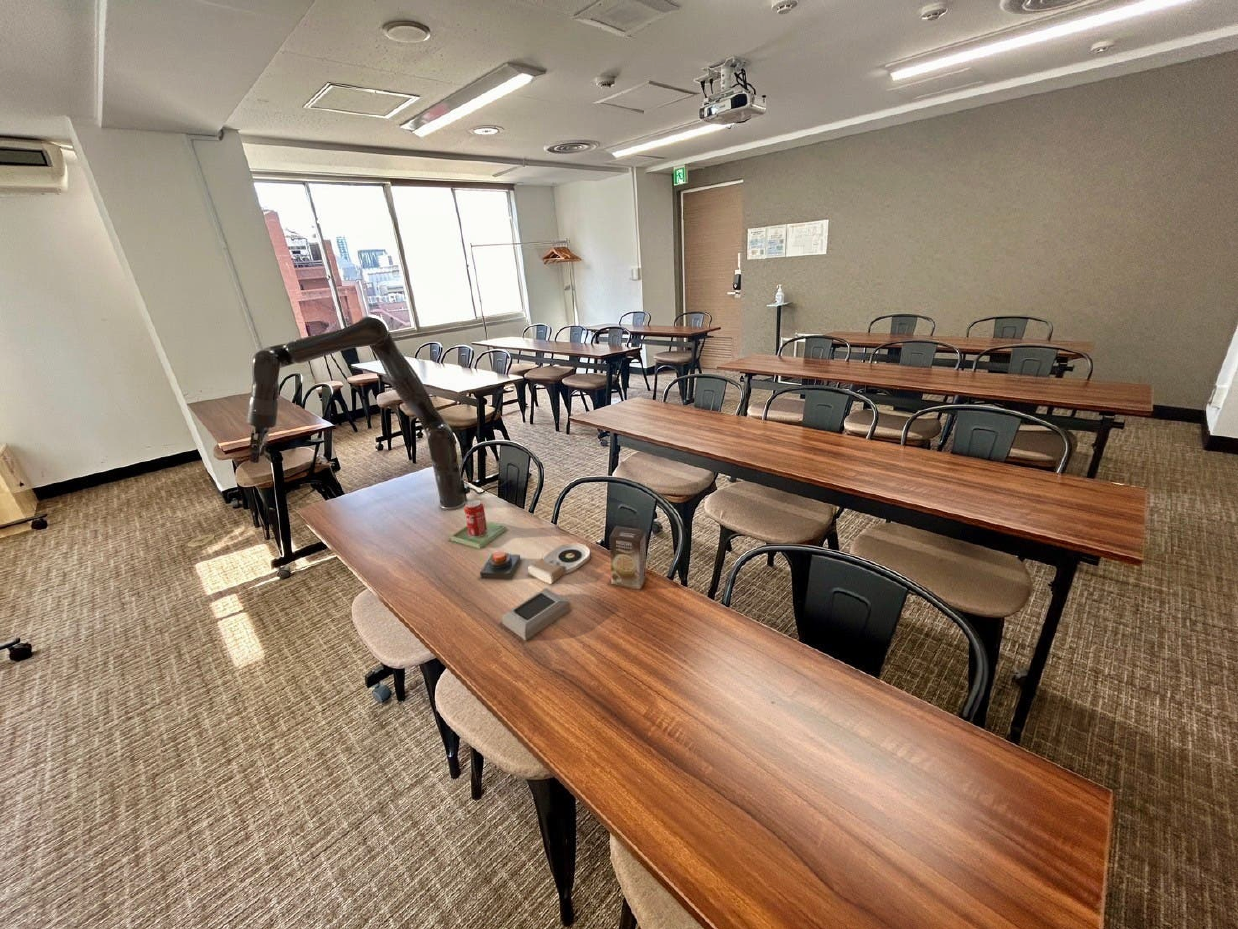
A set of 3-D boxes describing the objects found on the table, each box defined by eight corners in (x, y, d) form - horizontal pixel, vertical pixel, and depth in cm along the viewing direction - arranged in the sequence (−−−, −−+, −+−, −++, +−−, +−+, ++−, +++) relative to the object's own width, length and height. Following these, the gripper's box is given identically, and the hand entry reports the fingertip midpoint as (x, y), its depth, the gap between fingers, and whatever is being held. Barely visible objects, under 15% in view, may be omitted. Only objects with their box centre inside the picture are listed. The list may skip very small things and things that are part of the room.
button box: (493, 559, 152) (491, 548, 150) (520, 560, 151) (519, 549, 149) (481, 578, 143) (479, 567, 141) (510, 579, 142) (508, 568, 140)
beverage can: (471, 530, 169) (465, 499, 164) (489, 528, 169) (484, 498, 165) (467, 539, 163) (461, 508, 159) (486, 538, 164) (481, 506, 159)
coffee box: (610, 584, 138) (607, 536, 131) (617, 571, 143) (615, 524, 137) (641, 589, 135) (639, 540, 129) (647, 576, 140) (646, 529, 134)
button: (496, 556, 147) (495, 551, 147) (507, 556, 147) (506, 551, 146) (492, 562, 144) (491, 557, 143) (503, 563, 144) (502, 558, 143)
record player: (525, 564, 143) (569, 535, 158) (526, 573, 144) (569, 543, 159) (553, 577, 137) (597, 545, 152) (554, 586, 138) (597, 554, 153)
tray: (477, 522, 175) (477, 518, 174) (506, 530, 169) (505, 526, 168) (450, 540, 164) (450, 536, 163) (480, 548, 158) (479, 544, 158)
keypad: (569, 598, 127) (523, 629, 117) (570, 609, 128) (525, 640, 118) (545, 584, 133) (500, 612, 123) (547, 595, 134) (502, 623, 124)
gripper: (272, 418, 149) (266, 467, 153) (281, 407, 161) (275, 452, 165) (242, 413, 145) (237, 463, 149) (253, 403, 157) (248, 449, 161)
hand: (257, 457), depth 157 cm, fingers open, 8 cm apart
